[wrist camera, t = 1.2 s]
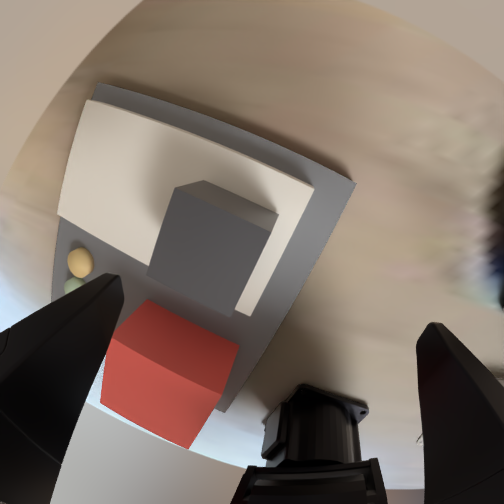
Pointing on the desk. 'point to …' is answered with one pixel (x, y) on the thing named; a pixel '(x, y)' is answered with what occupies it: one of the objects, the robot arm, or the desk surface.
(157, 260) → the grey cube
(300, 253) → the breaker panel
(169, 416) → the red block
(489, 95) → the desk surface
